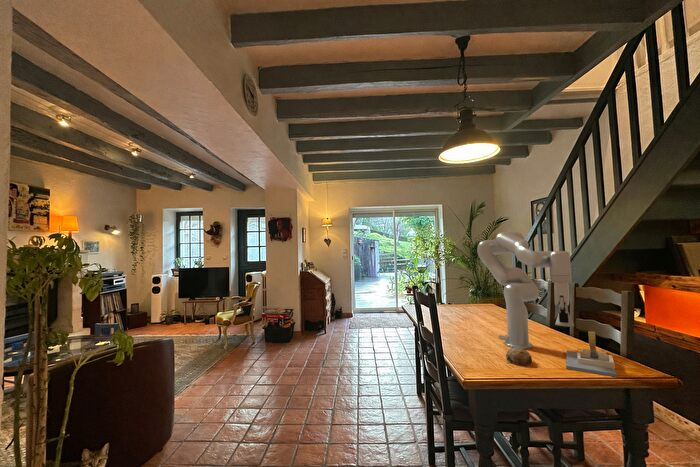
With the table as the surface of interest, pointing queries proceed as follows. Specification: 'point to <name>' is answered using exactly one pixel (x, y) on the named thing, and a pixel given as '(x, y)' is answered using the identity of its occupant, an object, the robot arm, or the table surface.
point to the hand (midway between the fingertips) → (564, 320)
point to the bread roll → (518, 357)
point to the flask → (569, 324)
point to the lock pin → (592, 344)
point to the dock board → (591, 362)
